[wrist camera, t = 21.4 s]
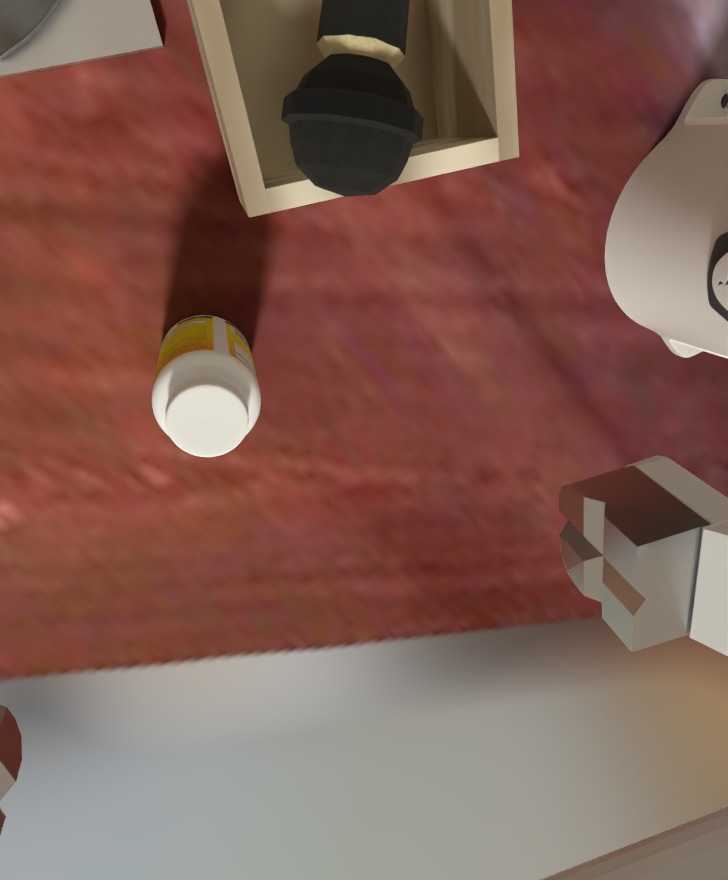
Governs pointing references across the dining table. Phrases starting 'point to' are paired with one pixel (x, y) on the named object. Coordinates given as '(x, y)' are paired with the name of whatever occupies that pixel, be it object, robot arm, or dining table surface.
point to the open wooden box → (422, 70)
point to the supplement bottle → (205, 386)
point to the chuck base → (86, 36)
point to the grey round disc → (22, 21)
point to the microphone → (355, 100)
